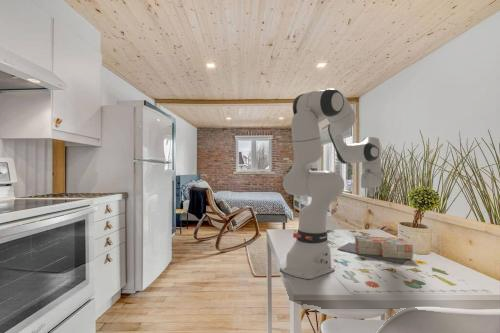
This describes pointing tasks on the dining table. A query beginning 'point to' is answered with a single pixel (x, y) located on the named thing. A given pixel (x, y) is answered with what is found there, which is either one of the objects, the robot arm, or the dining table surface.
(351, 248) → the charcoal rubber mat
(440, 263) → the dining table surface
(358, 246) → the stack of blocks
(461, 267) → the dining table surface
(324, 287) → the dining table surface
